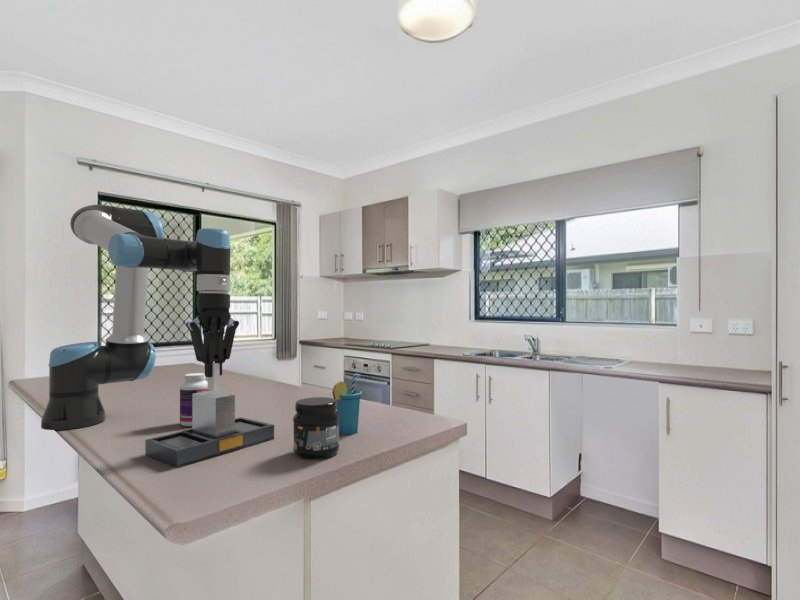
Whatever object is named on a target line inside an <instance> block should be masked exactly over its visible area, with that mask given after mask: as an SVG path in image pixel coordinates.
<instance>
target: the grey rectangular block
mask: <svg viewBox="0 0 800 600" xmlns="http://www.w3.org/2000/svg"><path fill="white" fill-rule="evenodd" d="M235 419H236V394H232V393H226V392H222V391H205V392H199V393H193V394H192V426H191V429H192V433H194V434H197V435H200V436H204V437H207V438H210V439H214V440H215V439H218V438H222V437H226V436H230V435H233V434H235Z"/></svg>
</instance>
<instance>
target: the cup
mask: <svg viewBox="0 0 800 600" xmlns="http://www.w3.org/2000/svg"><path fill="white" fill-rule="evenodd" d="M360 377H362V374H361V373H354V375H353V377H352V382H351V389H348V385H347V383H346V382H343V381H338V382H336V383H335V384H334V386H333V389H332V392H331V393H332V396H333V397H332V398H333V399H336V400H337V409H336V411H337V412H338V413H339V435H346V436H347V435H354V434H358V428H359V417H360V406H361V405H360V403H361V398H362V390H357V389H355V385H356V379H357V378H360Z"/></svg>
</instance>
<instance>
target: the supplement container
mask: <svg viewBox="0 0 800 600" xmlns="http://www.w3.org/2000/svg"><path fill="white" fill-rule="evenodd" d="M294 404H295V407H294V408H295V409H294V411H295V414H294V415H293V417H292V421H293V447H292V448H293V449H292V451H293V454H294V455H295V456H296V457H298V458H300V459H303V460H311V461H312V460H314V461H315V460H323V459H327V458H330V457H333V456H335V455H336V454H337V453H338V452H339V450H340V433H339V413H338V412H337V400H336V399H334V397H328V396H318V397H317V396H315V397H306V398H301V399H299V400H296V401H295V403H294Z"/></svg>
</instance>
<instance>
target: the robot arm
mask: <svg viewBox="0 0 800 600" xmlns="http://www.w3.org/2000/svg"><path fill="white" fill-rule="evenodd" d="M69 225H70V230H71V231H72V233H73V234H74V236H75V237H76V238H78V239H79V240H80V241H82V242H84V243H85V244H88V245H97V246H98V247H100V248H101V249H103V250H105V251H107V252H108V253H107V254H108V258H109V259H110V262H111V263H112V264H113V266H115V284H114V297H113V299H114V300H113V315H112V316H113V317H112V331H111V332H112V333H110V335H109V336H107V337H106V338H105V344H104V345H100V343H99V342H97V341H88V342H87V341H86V342H78V343H72V344H67V345H61V346H58V347H55V348H53V349H52V350H51V351H50V354H49V360H48V361H49V362H48V367H49V374H48V375H49V378H48V379H49V383H48V384H49V385H48V386H49V389H48V390H49V391H48V392H49V394H48V395H49V396H48V402H47V404H46V408H45V409H44V413H43V415H42V417H41V421H40V426H41V427H40V429H43V430H46V431H60V430H61V431H62V430H63V431H64V430H72V429H79V428H80V429H81V428H87V427H90V426H94V425H98V424H101V423H103V422H105V420H106V411H105V408H104V405H103V403H102V401H101V398H100V395H99V385H105V384H113V383H122V382H134V381H138V380H142V379H146V378H147V377H148V376H150V374H151V373H152V372H153V370H154V368H155V363H156V352H155V351H156V349H155V346H154V345H153V343H151V342H149V341H150V339H149V337H148V336H147V335H146V334H145V326H146V325H145V321H146V308H147V307H146V306H147V295H148V294H147V292H148V279H149V278H148V276H149V269H157V270H158V269H159V270H171V271H180V272H188V273H194V272H196V291H197V292H199V293H198V294H197V295H196V309H197V312H196V314H195V318H194V319H192V320H191V321H188V322H185V326H186V328H187V330H188V331H189V334H190V337H191V342H192V346H193V347H192V348H193V351H194V354H195V355H194V356H195V360H196V361H197V362H201V363H203V364H204V373H205V377H206V378H207V382H208V390H210V391H217V392H219V391H220V385H221V384H220V379H221V378H220V377H221V376H223V364H224V363H225V362H226V361H227V360H229V359H230V358H231V354H232V350H233V349H232V348H233V344H234V341H235V340H234V339H235V336H236V331H237V328H238V327H239V324H240V321H239V320H235V319H233V318H232V315H231V313H230V308H231V295H230V293H229V292H230V291H231V248H232V245H231V237H230V233H229V232H228V231H227V230H225V229H221V228H215V227H214V228H213V227H212V228H211V227H210V228H207V227H206V228H199V229H197V232H196V238H195V240H193V241H191V240H183V239H182V240H181V239H173V238H172V239H171V238H166V237H165V234H164V227H163V224H162V221H161V220H160V218H159V217H158V215H156V214H155V213H154V212H149V211H145V210H141V209H139V210H138V209H132V208H125V207H119V206H113V205H112V206H111V205H107V204H92V205H91V204H90V205H87V206H83V207H81V208H78V210H76V211H75V212H74V213H73V214H72V216H71V218H70V224H69ZM164 237H165V238H164ZM200 327H201V328H202V331H201V329H200Z"/></svg>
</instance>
